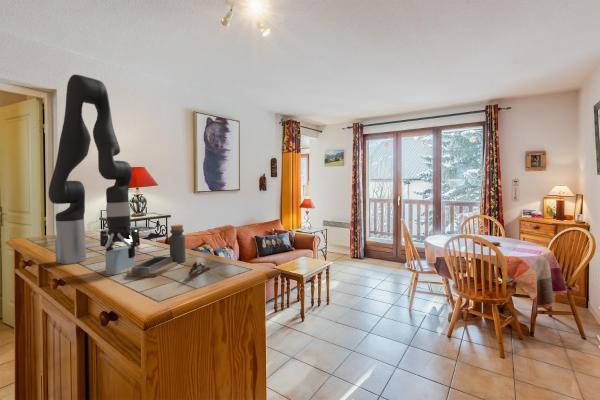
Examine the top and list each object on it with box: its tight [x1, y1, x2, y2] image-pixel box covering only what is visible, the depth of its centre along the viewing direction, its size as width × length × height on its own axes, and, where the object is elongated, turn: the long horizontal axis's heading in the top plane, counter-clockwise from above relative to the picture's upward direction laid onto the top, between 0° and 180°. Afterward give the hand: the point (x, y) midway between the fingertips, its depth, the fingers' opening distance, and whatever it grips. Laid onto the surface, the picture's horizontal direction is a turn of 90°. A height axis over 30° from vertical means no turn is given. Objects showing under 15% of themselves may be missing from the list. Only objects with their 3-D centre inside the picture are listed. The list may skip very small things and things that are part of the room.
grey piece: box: [126, 255, 178, 278], centre depth 111 cm, size 11×15×3 cm
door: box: [104, 244, 136, 275], centre depth 112 cm, size 3×11×8 cm, turn 173°
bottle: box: [169, 224, 187, 265], centre depth 122 cm, size 6×6×15 cm
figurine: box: [187, 261, 211, 282], centre depth 105 cm, size 6×4×15 cm
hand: (120, 257), depth 112 cm, fingers open, 8 cm apart
